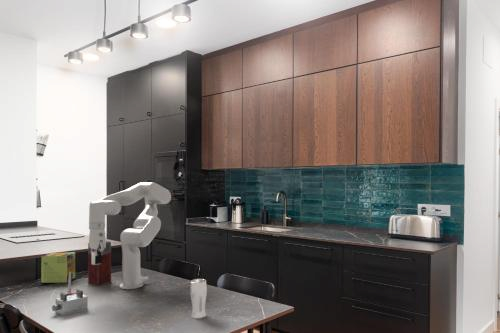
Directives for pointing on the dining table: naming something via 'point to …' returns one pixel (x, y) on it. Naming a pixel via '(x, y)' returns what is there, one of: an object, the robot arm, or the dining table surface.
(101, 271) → the red canister
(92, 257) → the bottle
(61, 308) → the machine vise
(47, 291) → the dining table surface
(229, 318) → the dining table surface
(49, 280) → the protein box
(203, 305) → the beer glass
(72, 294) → the tow hook
